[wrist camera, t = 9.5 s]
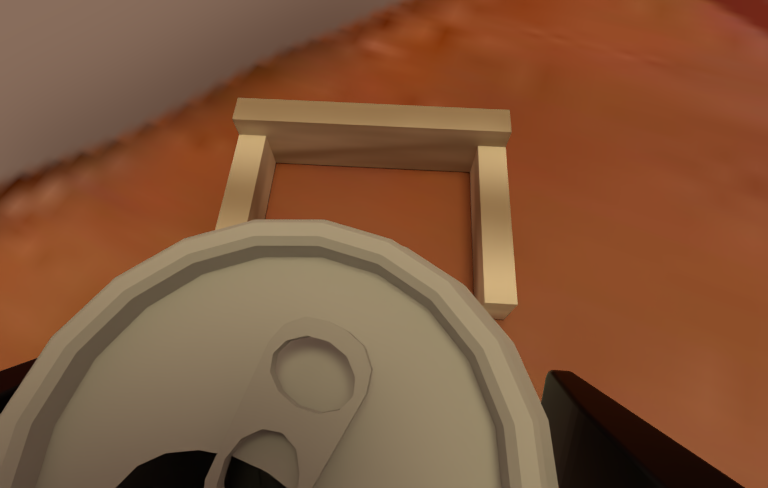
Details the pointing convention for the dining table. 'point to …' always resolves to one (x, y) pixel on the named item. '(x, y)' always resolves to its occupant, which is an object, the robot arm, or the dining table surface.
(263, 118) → the shelf lane
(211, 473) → the can
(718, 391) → the dining table surface
